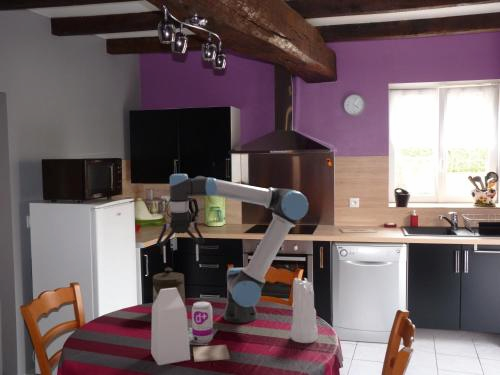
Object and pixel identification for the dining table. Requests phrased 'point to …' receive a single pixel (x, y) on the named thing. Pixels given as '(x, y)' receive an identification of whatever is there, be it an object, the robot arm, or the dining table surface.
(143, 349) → the dining table surface
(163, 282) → the wooden container
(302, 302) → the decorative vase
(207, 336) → the supplement can
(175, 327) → the milk
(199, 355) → the beige cloth
